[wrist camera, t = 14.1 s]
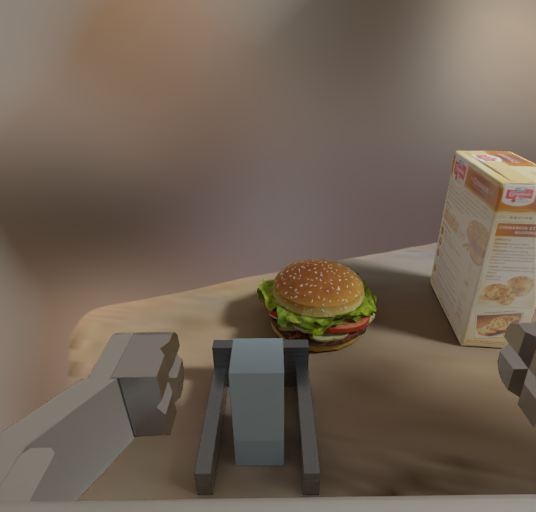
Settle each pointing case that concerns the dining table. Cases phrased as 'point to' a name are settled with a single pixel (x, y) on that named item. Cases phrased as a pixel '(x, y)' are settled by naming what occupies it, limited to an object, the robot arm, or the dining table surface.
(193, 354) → the dining table surface
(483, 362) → the dining table surface
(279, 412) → the pale blue rectangular prism
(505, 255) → the coffeecake box
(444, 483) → the dining table surface
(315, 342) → the food
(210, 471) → the rail channel
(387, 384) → the dining table surface
